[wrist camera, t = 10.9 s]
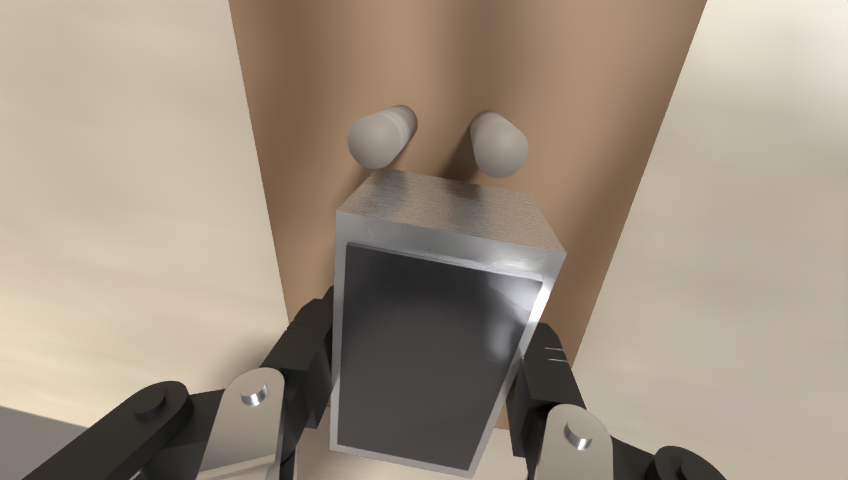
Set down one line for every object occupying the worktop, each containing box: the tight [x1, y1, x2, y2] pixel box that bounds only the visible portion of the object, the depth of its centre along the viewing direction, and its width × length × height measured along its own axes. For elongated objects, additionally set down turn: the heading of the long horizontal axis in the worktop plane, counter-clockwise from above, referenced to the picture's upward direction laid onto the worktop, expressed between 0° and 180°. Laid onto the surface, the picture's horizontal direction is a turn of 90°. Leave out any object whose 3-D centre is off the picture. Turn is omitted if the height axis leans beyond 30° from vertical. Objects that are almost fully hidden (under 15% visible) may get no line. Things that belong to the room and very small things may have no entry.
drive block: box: [329, 167, 567, 479], centre depth 10 cm, size 5×9×4 cm, turn 171°
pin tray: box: [228, 0, 707, 430], centre depth 12 cm, size 14×20×5 cm
